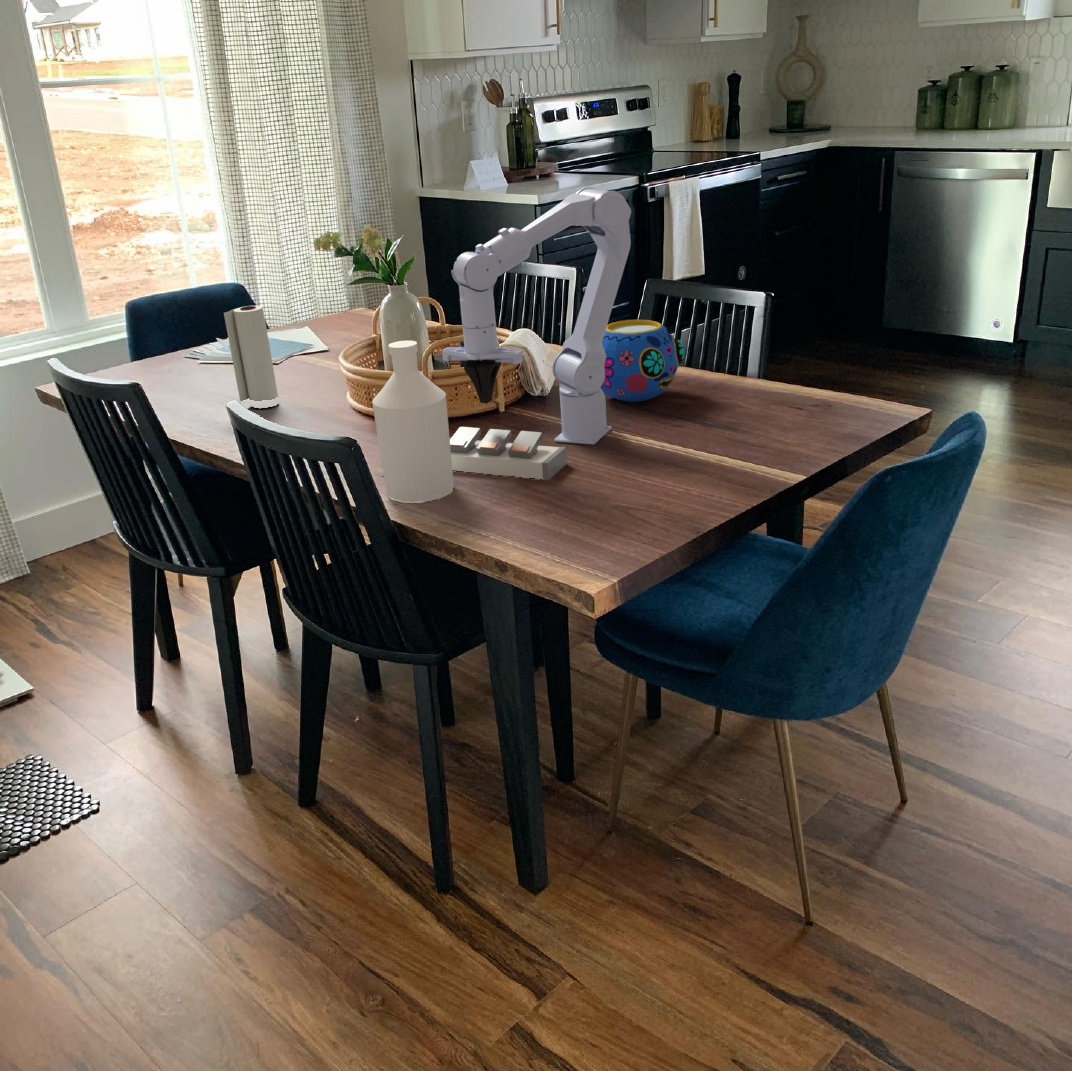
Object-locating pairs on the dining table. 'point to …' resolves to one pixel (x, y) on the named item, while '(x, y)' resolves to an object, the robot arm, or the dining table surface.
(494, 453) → the rocker
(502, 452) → the power strip
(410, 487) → the bottle
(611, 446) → the dining table surface
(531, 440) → the rocker
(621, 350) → the ceramic pot
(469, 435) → the block
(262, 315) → the paper towel roll
